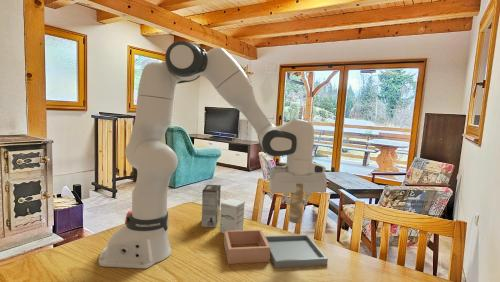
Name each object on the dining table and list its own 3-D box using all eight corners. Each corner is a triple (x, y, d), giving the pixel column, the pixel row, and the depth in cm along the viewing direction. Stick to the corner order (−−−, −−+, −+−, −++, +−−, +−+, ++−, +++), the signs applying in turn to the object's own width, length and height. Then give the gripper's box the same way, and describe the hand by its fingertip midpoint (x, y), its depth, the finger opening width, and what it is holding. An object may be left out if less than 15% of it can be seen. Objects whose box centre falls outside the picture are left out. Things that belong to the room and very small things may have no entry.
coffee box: (205, 218, 131) (206, 184, 129) (219, 219, 131) (221, 184, 128) (201, 226, 122) (202, 189, 120) (216, 228, 121) (217, 191, 119)
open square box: (228, 263, 95) (228, 249, 94) (224, 243, 108) (224, 230, 108) (269, 261, 97) (270, 247, 97) (260, 241, 111) (261, 229, 110)
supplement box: (218, 232, 117) (220, 202, 116) (228, 226, 124) (229, 197, 122) (234, 237, 114) (235, 206, 112) (243, 230, 120) (245, 201, 119)
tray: (275, 267, 94) (275, 261, 93) (262, 241, 111) (263, 236, 111) (327, 264, 97) (327, 258, 97) (307, 239, 115) (307, 234, 114)
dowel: (291, 223, 100) (294, 184, 98) (287, 218, 104) (289, 180, 103) (303, 223, 101) (306, 184, 99) (299, 218, 105) (301, 180, 103)
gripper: (272, 167, 95) (270, 208, 97) (330, 168, 99) (327, 206, 101) (267, 163, 101) (265, 201, 103) (322, 164, 105) (319, 200, 107)
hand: (296, 204), depth 102 cm, fingers closed on dowel, 4 cm apart
